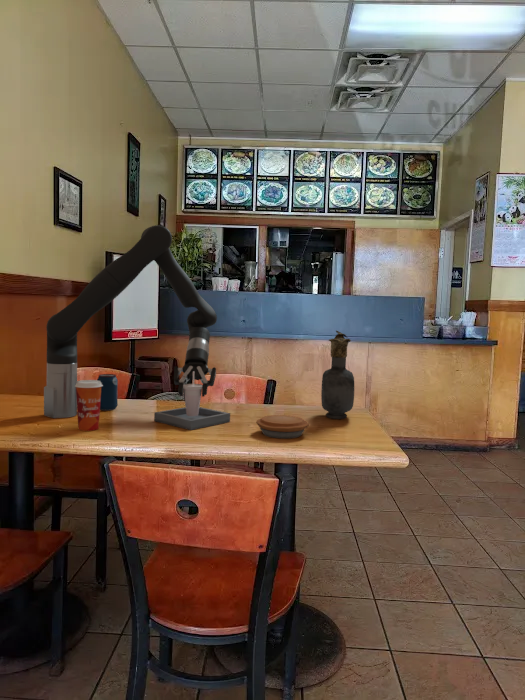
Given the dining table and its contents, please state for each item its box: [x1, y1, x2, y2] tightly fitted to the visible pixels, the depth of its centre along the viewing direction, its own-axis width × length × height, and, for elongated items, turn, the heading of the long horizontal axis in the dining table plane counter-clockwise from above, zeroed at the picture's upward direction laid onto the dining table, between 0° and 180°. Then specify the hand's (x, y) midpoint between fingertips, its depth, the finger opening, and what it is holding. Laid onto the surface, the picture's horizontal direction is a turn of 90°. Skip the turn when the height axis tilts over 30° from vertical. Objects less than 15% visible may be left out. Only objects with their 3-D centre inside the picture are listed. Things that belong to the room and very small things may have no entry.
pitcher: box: [320, 330, 355, 420], centre depth 182 cm, size 11×19×30 cm, turn 176°
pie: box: [255, 414, 310, 440], centre depth 154 cm, size 15×16×5 cm
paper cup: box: [75, 379, 103, 432], centre depth 153 cm, size 8×8×14 cm
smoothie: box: [183, 371, 203, 416], centre depth 167 cm, size 6×6×14 cm
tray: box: [153, 406, 231, 431], centre depth 167 cm, size 17×17×3 cm
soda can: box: [96, 373, 119, 411], centre depth 183 cm, size 7×7×12 cm
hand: (192, 394), depth 165 cm, fingers closed on smoothie, 6 cm apart
